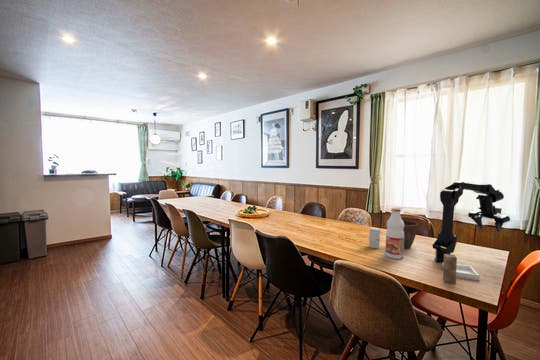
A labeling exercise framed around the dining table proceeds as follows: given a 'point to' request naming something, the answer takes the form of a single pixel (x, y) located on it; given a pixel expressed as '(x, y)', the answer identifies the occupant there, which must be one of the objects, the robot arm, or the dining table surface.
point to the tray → (465, 272)
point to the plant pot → (409, 233)
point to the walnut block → (449, 268)
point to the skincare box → (374, 238)
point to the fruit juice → (395, 235)
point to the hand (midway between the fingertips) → (489, 230)
